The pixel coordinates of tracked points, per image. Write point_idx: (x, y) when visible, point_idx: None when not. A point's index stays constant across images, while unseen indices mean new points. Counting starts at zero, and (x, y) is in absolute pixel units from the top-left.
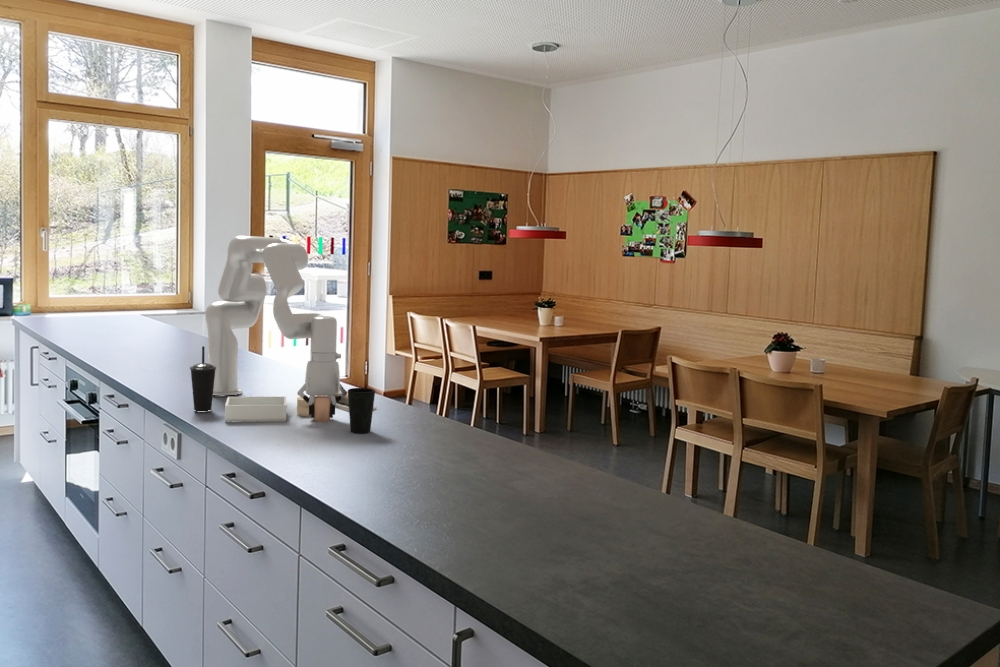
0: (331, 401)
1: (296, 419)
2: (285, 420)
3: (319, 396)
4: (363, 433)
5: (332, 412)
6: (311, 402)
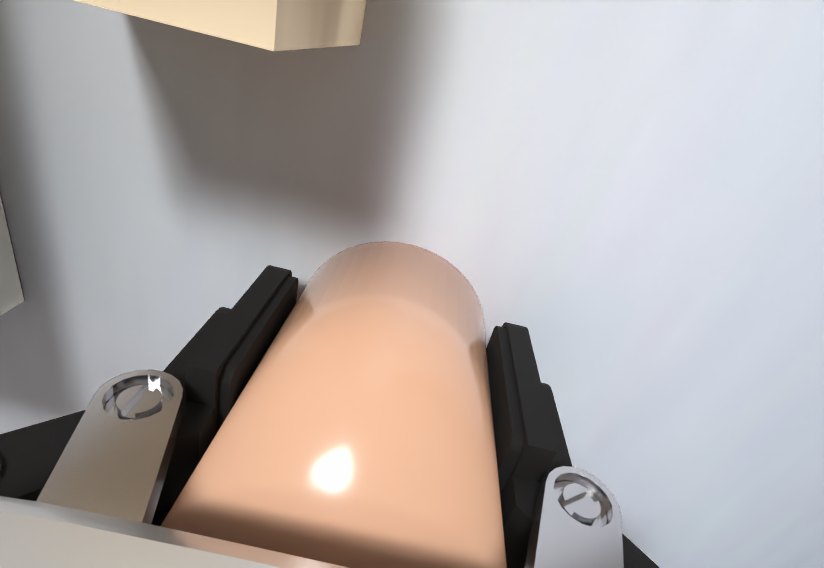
0: (525, 516)
1: (119, 227)
2: (5, 305)
3: None
4: None
5: None
6: (160, 512)
